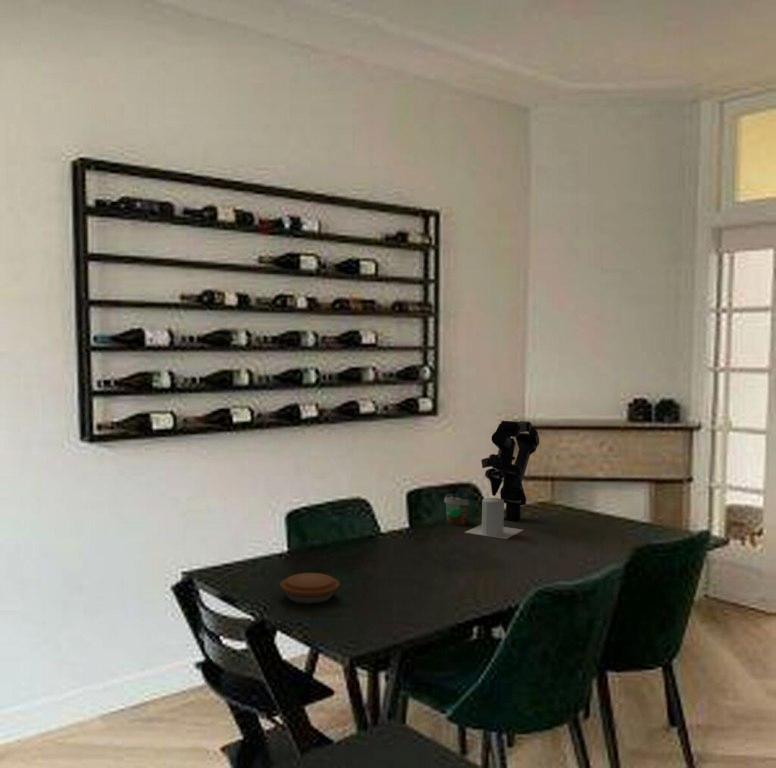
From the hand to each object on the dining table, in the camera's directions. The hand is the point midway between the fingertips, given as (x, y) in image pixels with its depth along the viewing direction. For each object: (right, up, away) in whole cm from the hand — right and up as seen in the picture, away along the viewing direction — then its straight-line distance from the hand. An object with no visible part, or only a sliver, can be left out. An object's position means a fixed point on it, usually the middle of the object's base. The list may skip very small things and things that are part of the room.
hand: (498, 494), depth 282 cm
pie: (-61, -16, -79) cm, 101 cm away
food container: (-16, -12, +7) cm, 21 cm away
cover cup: (-4, -13, -9) cm, 16 cm away
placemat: (-2, -13, -5) cm, 14 cm away
